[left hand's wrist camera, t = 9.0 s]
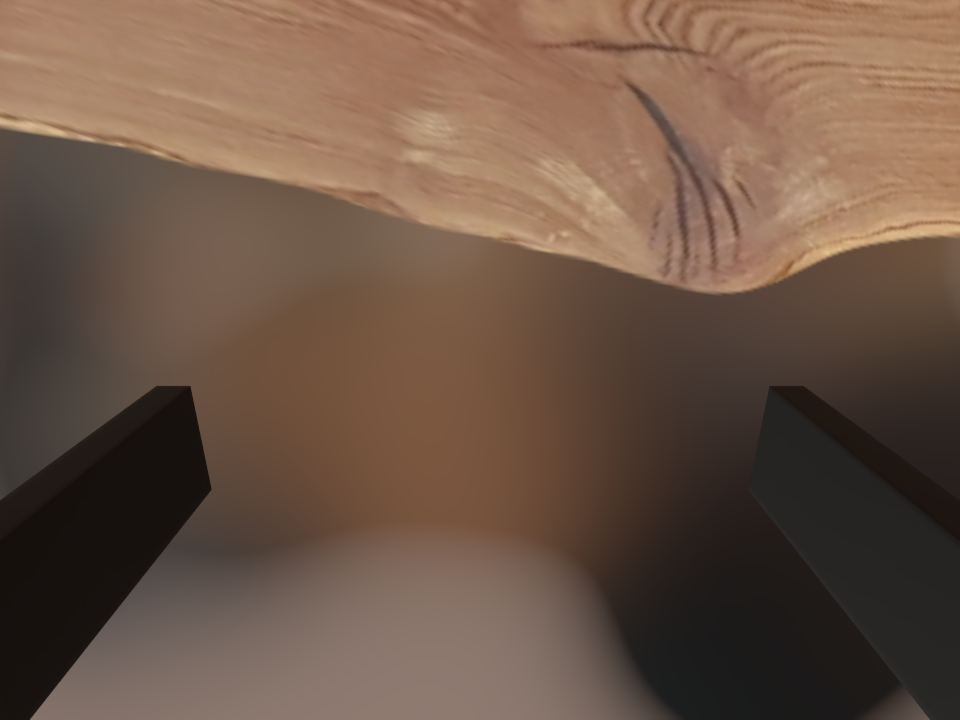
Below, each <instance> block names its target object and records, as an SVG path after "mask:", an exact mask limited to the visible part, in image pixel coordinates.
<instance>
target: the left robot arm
mask: <svg viewBox="0 0 960 720" xmlns="http://www.w3.org/2000/svg"><path fill="white" fill-rule="evenodd" d="M210 491H211V485H210V480H209V475H208V470H207V465H206V460H205V455H204V451H203V445H202V441H201V436H200V431H199V426H198V421H197V416H196V412H195V407H194V402H193V397H192V392H191V387H190V386H156V387H155V388H153V389H152V390H151V391H149V392H148V393H146V394H145V395H144V396H142V397H141V398H140V399H138V400H137V401H135V402H134V403H133V404H131V405H130V406H129V407H127V408H126V409H125V410H123V411H122V412H120V413H119V414H118V415H116V416H115V417H114V418H112V419H111V420H109V421H108V422H107V423H105V424H104V425H103V426H101V427H100V428H99V429H97V430H96V431H94V432H93V433H92V434H90V435H89V436H88V437H86V438H85V439H83V440H82V441H81V442H79V443H78V444H77V445H75V446H74V447H73V448H71V449H70V450H68V451H67V452H66V453H64V454H63V455H62V456H60V457H59V458H58V459H56V460H55V461H53V462H52V463H51V464H49V465H48V466H47V467H45V468H44V469H42V470H41V471H40V472H38V473H37V474H36V475H34V476H33V477H32V478H30V479H29V480H27V481H26V482H25V483H23V484H22V485H21V486H19V487H18V488H16V489H15V490H14V491H12V492H11V493H10V494H8V495H7V496H6V497H4V498H3V499H1V500H0V720H30V719H31V717H32V716H33V715H34V714H35V712H36V711H37V710H38V709H39V707H40V706H41V705H42V704H43V702H44V701H45V700H46V698H47V697H48V696H49V695H50V693H51V692H52V691H53V690H54V688H55V687H56V686H57V684H58V683H59V682H60V681H61V679H62V678H63V677H64V676H65V674H66V673H67V672H68V671H69V669H70V668H71V667H72V666H73V664H74V663H75V662H76V661H77V659H78V658H79V657H80V655H81V654H82V653H83V652H84V650H85V649H86V648H87V647H88V645H89V644H90V643H91V642H92V640H93V639H94V638H95V636H96V635H97V634H98V633H99V631H100V630H101V629H102V628H103V626H104V625H105V624H106V623H107V621H108V620H109V619H110V617H111V616H112V615H113V614H114V612H115V611H116V610H117V609H118V607H119V606H120V605H121V603H122V602H123V601H124V600H125V598H126V597H127V596H128V595H129V593H130V592H131V591H132V590H133V588H134V587H135V586H136V585H137V583H138V582H139V581H140V579H141V578H142V577H143V576H144V574H145V573H146V572H147V571H148V569H149V568H150V567H151V566H152V564H153V563H154V562H155V560H156V559H157V558H158V557H159V555H160V554H161V553H162V552H163V550H164V549H165V548H166V547H167V545H168V544H169V543H170V541H171V540H172V539H173V538H174V536H175V535H176V534H177V533H178V531H179V530H180V529H181V528H182V526H183V525H184V524H185V523H186V521H187V520H188V519H189V517H190V516H191V515H192V514H193V512H194V511H195V510H196V509H197V507H198V506H199V505H200V504H201V502H202V501H203V500H204V498H205V497H206V496H207V495H208V493H209V492H210ZM749 491H750V492H751V493H752V495H753V496H754V497H755V498H756V500H757V501H758V502H759V504H760V505H761V506H762V507H763V509H764V510H765V511H766V512H767V514H768V515H769V516H770V517H771V519H772V520H773V521H774V522H775V524H776V525H777V526H778V528H779V529H780V530H781V531H782V533H783V534H784V535H785V536H786V538H787V539H788V540H789V541H790V543H791V544H792V545H793V547H794V548H795V549H796V550H797V552H798V553H799V554H800V555H801V557H802V558H803V559H804V560H805V562H806V563H807V564H808V566H809V567H810V568H811V569H812V571H813V572H814V573H815V574H816V576H817V577H818V578H819V579H820V581H821V582H822V583H823V585H824V586H825V587H826V588H827V590H828V591H829V592H830V593H831V595H832V596H833V597H834V598H835V600H836V601H837V602H838V604H839V605H840V606H841V607H842V609H843V610H844V611H845V612H846V614H847V615H848V616H849V617H850V619H851V620H852V621H853V623H854V624H855V625H856V626H857V628H858V629H859V630H860V631H861V633H862V634H863V635H864V636H865V638H866V639H867V640H868V641H869V643H870V644H871V645H872V647H873V648H874V649H875V650H876V652H877V653H878V654H879V655H880V657H881V658H882V659H883V660H884V662H885V663H886V664H887V666H888V667H889V668H890V669H891V671H892V672H893V673H894V674H895V676H896V677H897V678H898V679H899V681H900V682H901V683H902V685H903V686H904V687H905V688H906V690H907V691H908V692H909V693H910V695H911V696H912V697H913V698H914V700H915V701H916V702H917V704H918V705H919V706H920V707H921V709H922V710H923V711H924V712H925V714H926V715H927V716H928V717H929V719H930V720H960V500H959V499H957V498H956V497H954V496H953V495H952V494H950V493H949V492H948V491H946V490H945V489H944V488H942V487H941V486H939V485H938V484H937V483H935V482H934V481H933V480H931V479H930V478H929V477H927V476H926V475H924V474H923V473H922V472H920V471H919V470H918V469H916V468H915V467H913V466H912V465H911V464H909V463H908V462H907V461H905V460H904V459H902V458H901V457H900V456H898V455H897V454H896V453H894V452H893V451H892V450H890V449H889V448H887V447H886V446H885V445H883V444H882V443H881V442H879V441H878V440H876V439H875V438H874V437H872V436H871V435H870V434H868V433H867V432H866V431H864V430H863V429H861V428H860V427H859V426H857V425H856V424H855V423H853V422H852V421H850V420H849V419H848V418H846V417H845V416H844V415H842V414H841V413H840V412H838V411H837V410H835V409H834V408H833V407H831V406H830V405H829V404H827V403H826V402H825V401H823V400H822V399H820V398H819V397H818V396H816V395H815V394H814V393H812V392H811V391H809V390H808V389H807V388H805V387H804V386H770V387H769V392H768V397H767V402H766V406H765V411H764V416H763V421H762V426H761V431H760V436H759V441H758V445H757V450H756V455H755V460H754V465H753V470H752V475H751V480H750V484H749Z"/></svg>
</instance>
